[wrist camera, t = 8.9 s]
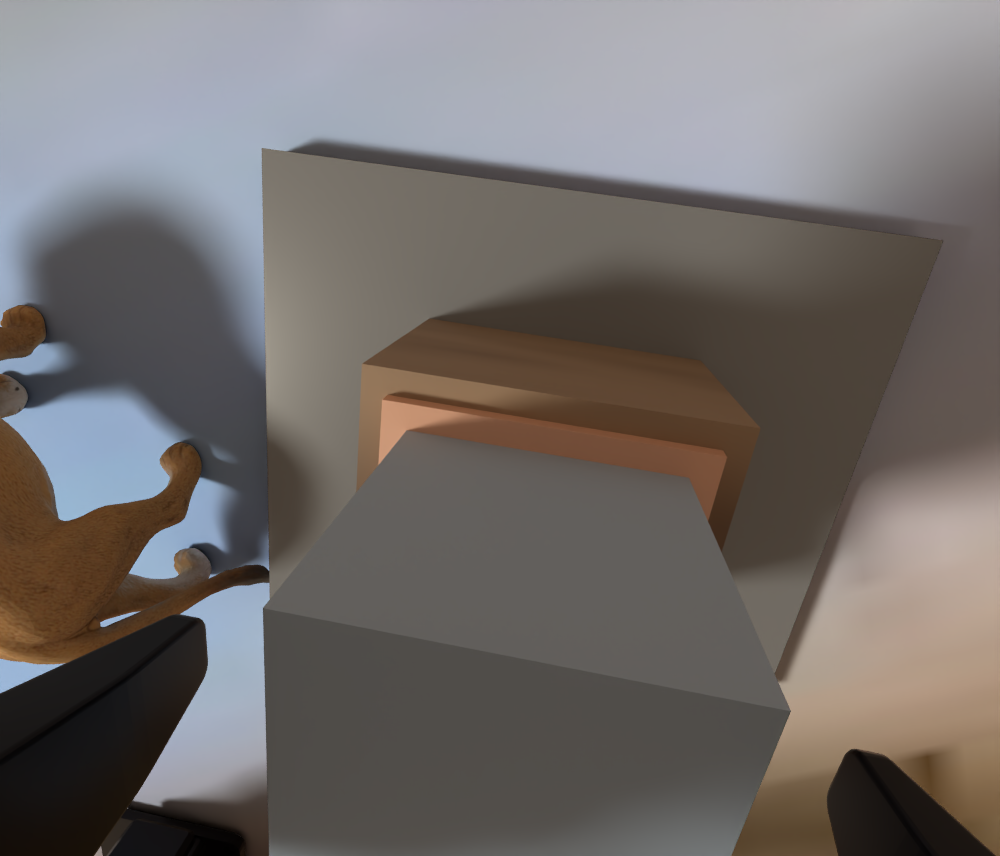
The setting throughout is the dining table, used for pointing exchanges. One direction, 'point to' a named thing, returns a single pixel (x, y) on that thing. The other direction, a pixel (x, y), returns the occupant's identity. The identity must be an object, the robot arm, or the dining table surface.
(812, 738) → the dining table surface
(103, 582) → the lion figurine
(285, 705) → the slate-gray cube
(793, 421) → the tower base
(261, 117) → the dining table surface
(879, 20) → the dining table surface
